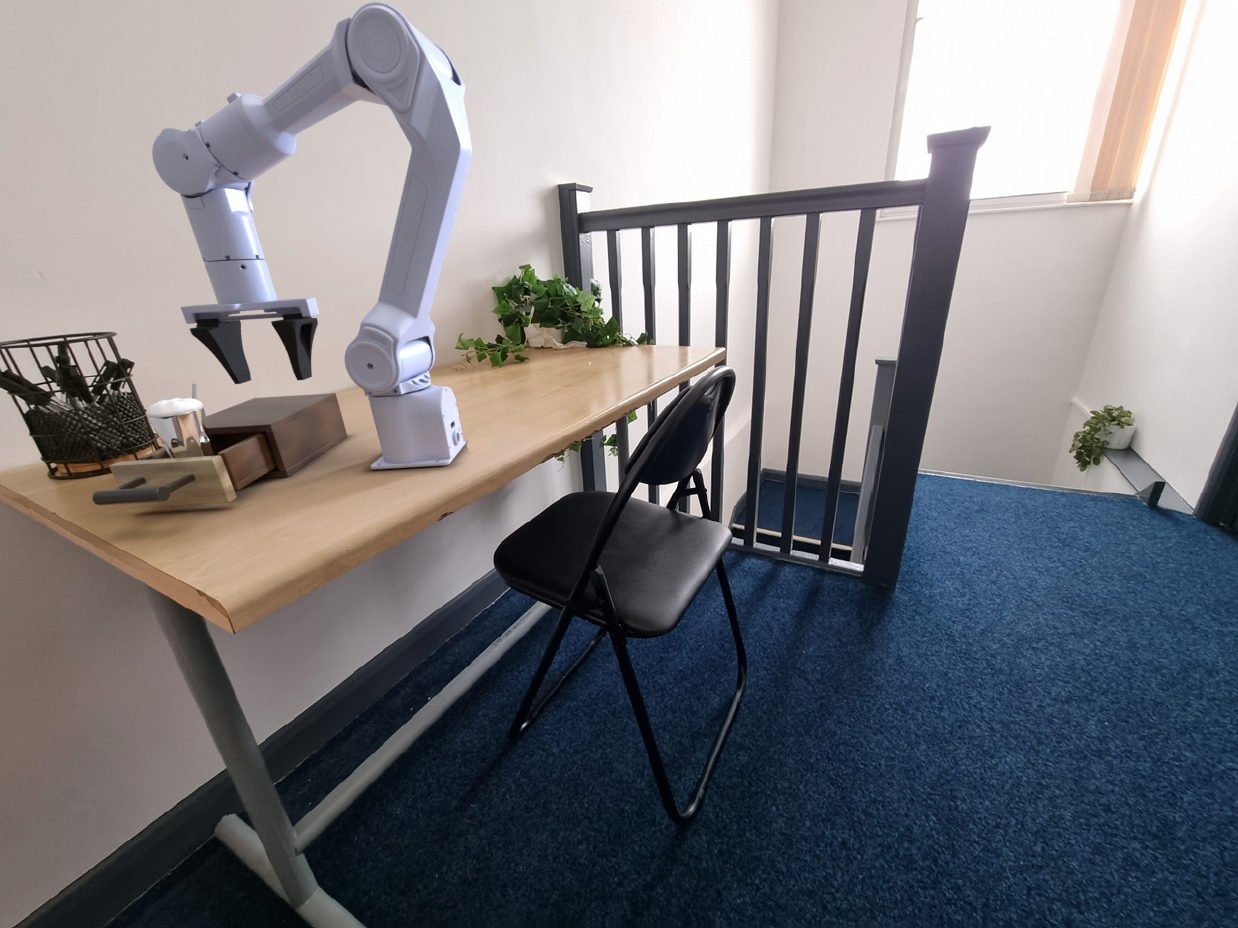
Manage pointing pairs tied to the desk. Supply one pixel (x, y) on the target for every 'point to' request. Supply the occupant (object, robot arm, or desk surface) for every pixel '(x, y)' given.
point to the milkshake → (182, 427)
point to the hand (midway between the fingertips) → (274, 380)
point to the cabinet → (286, 427)
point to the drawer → (191, 474)
